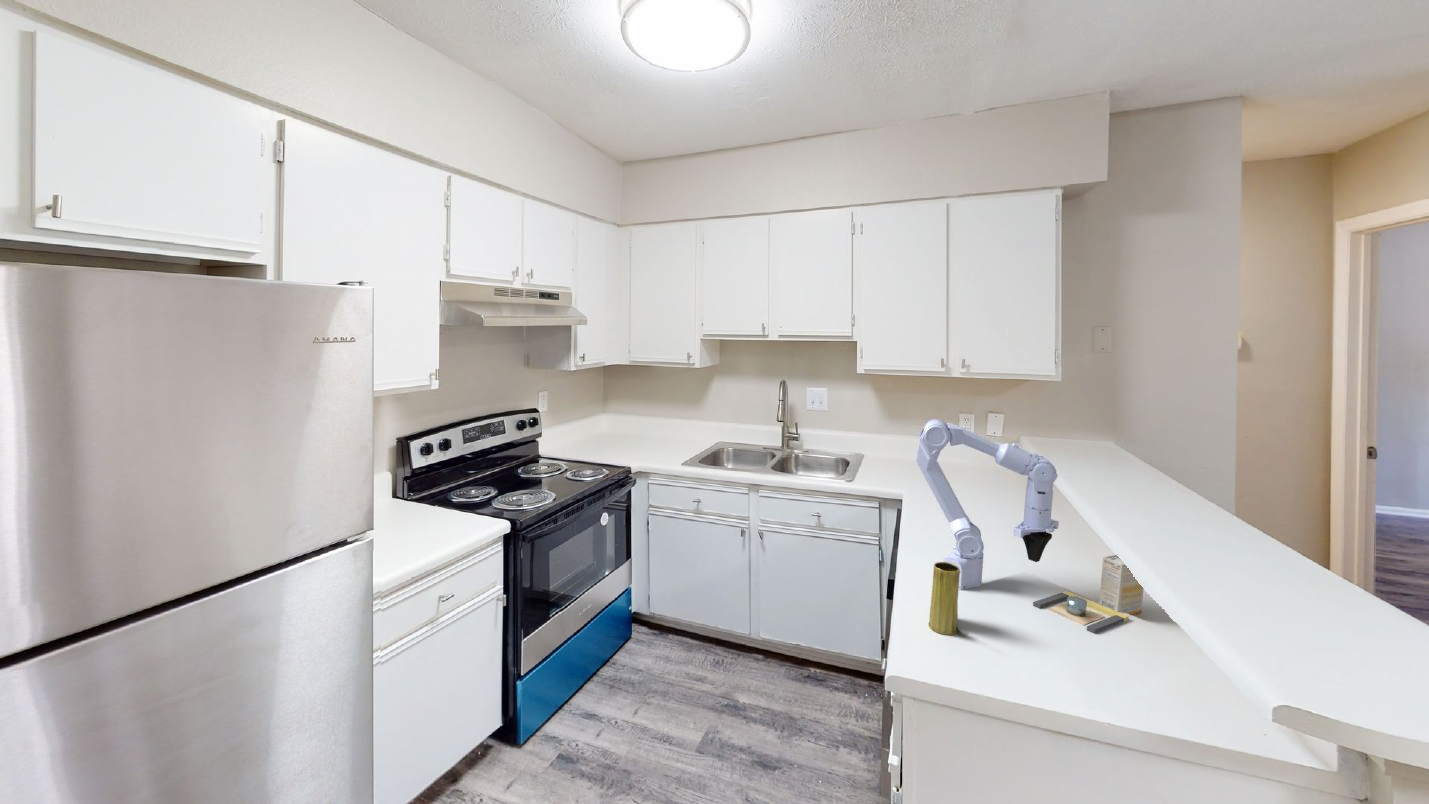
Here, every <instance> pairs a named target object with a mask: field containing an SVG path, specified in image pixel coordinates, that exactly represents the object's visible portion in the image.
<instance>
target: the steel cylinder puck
mask: <svg viewBox="0 0 1429 804" xmlns="http://www.w3.org/2000/svg"><path fill="white" fill-rule="evenodd" d="M1080 597H1081V596H1080ZM1080 597H1075V596H1069V597H1067V600H1066V602H1067V606H1066V611H1067V612H1068V613H1069V614H1071V615H1074V616H1079V617H1083V616H1085V615H1086V609H1087V608H1088V607H1087V601H1086V600H1084V599H1082V598H1080Z"/></svg>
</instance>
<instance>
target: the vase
mask: <svg viewBox="0 0 1429 804" xmlns="http://www.w3.org/2000/svg"><path fill="white" fill-rule="evenodd" d="M959 575H960V569H959V567H958V566H956V565H954V564H952V563H948V562H944V561H939V562H938V561H937V562H935V563H934V564H933V574H932V585H931V586H932V588H931V598H930V599H931V600H930V608H929V621H928V627H929V628H930V629H931V630H932V631H934V632H935V633H938V634H941V635H945V636H947V635H948V636H949V635H950V636H951V635H955V634H957V633H958V632H959V627H958V624H959V621H958V620H959V618H958V617H959V612H958V610H959V607H958V606H959V605H958V604H959V603H958V600H959V591H958V590H959Z"/></svg>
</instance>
